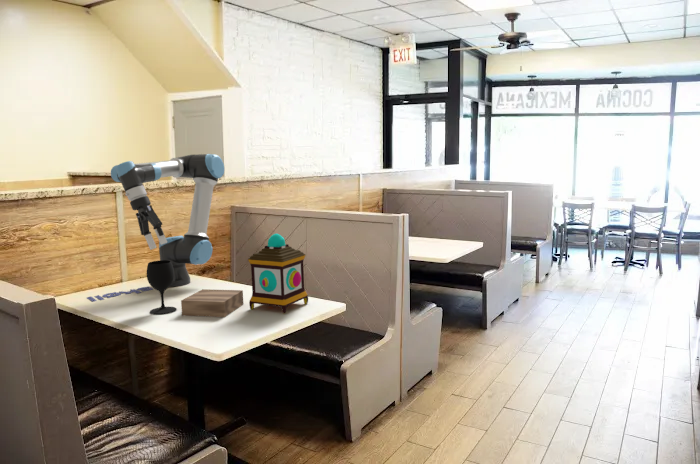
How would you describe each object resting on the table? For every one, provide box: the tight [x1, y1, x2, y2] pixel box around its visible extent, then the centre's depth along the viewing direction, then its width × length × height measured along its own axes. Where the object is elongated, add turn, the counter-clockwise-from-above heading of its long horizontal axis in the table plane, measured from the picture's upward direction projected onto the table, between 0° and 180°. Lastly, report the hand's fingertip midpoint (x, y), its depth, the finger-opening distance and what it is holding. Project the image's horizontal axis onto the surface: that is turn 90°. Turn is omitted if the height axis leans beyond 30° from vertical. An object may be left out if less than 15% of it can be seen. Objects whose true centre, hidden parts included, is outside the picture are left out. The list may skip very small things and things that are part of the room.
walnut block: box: [180, 288, 244, 318], centre depth 220 cm, size 18×18×6 cm
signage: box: [86, 286, 154, 303], centre depth 251 cm, size 28×1×10 cm
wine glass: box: [146, 259, 178, 316], centre depth 219 cm, size 10×10×20 cm
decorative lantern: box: [247, 233, 309, 315], centre depth 221 cm, size 20×20×30 cm
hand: (158, 246), depth 227 cm, fingers open, 13 cm apart
